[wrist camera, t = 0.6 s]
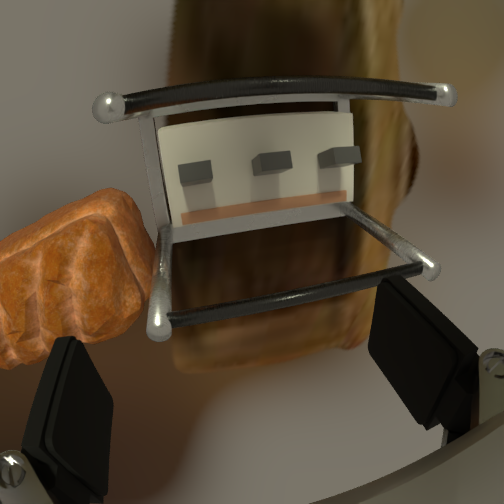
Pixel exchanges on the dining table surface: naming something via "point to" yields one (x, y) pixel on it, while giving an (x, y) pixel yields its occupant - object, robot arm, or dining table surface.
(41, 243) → the bread
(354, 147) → the grey matte cuboid
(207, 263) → the dining table surface
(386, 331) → the robot arm
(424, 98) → the frame
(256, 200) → the switch box
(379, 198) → the dining table surface
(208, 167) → the grey rectangular block
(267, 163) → the dark grey rectangular box
